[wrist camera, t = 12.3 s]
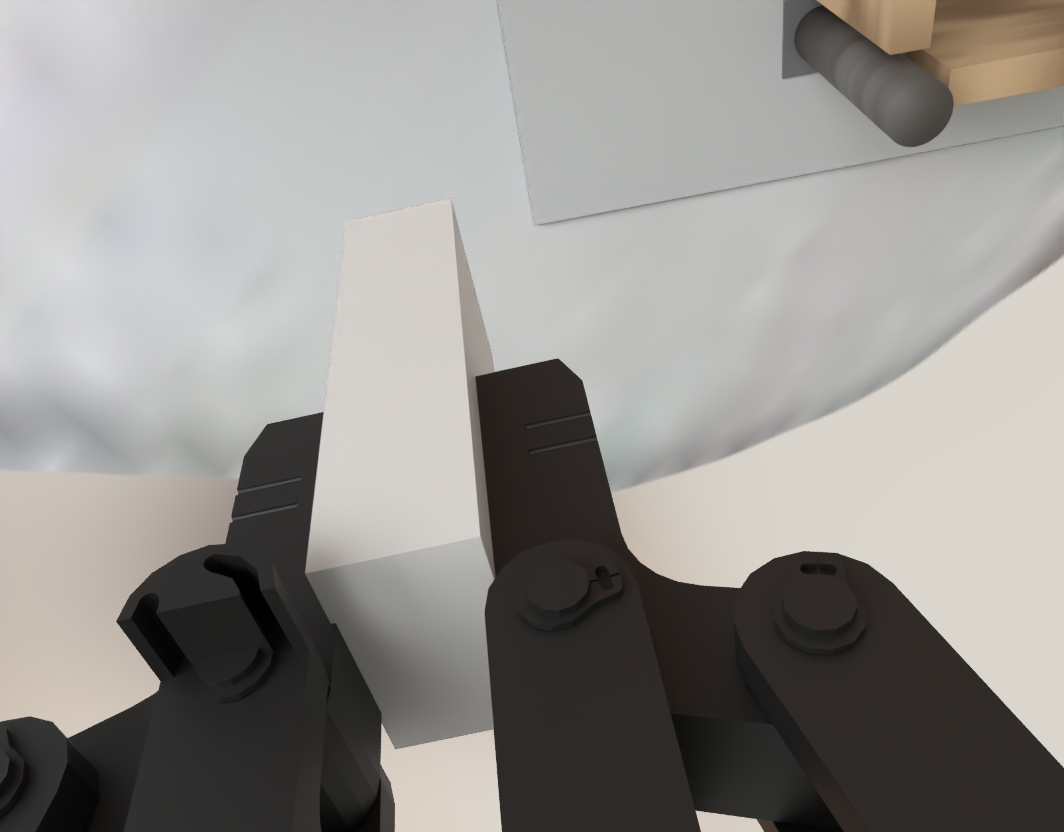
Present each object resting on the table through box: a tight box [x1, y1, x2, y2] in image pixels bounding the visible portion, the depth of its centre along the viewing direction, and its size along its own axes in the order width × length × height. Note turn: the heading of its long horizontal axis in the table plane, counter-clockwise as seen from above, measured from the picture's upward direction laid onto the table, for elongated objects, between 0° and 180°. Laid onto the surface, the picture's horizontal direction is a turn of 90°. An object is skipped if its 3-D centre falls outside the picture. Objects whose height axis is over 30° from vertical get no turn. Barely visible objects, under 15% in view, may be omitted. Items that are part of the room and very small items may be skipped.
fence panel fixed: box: [794, 0, 1064, 147], centre depth 30 cm, size 13×2×8 cm, turn 99°
